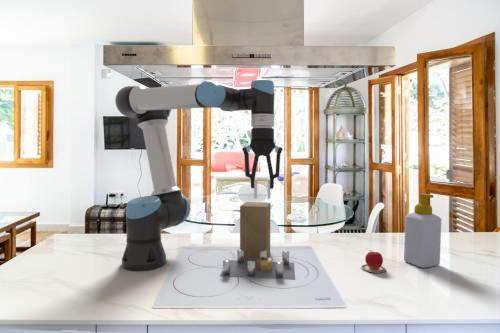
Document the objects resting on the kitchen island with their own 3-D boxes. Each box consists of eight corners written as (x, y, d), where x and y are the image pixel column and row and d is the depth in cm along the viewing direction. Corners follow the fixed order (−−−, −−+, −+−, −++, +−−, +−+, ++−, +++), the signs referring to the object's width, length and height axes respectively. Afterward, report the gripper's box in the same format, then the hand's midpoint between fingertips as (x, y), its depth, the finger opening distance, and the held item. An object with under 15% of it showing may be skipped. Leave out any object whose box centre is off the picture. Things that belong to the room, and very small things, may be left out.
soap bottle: (422, 269, 121) (424, 196, 120) (402, 261, 130) (404, 192, 128) (441, 265, 125) (444, 195, 123) (420, 258, 133) (422, 191, 132)
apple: (356, 267, 124) (356, 248, 123) (374, 264, 127) (375, 246, 126) (371, 275, 116) (372, 255, 116) (391, 272, 119) (391, 252, 119)
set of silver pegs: (222, 275, 114) (222, 261, 114) (229, 260, 128) (229, 248, 128) (289, 278, 112) (289, 264, 112) (289, 263, 126) (289, 250, 126)
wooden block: (266, 261, 130) (266, 206, 128) (239, 259, 132) (239, 205, 130) (270, 252, 139) (270, 202, 138) (245, 251, 141) (245, 201, 140)
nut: (256, 271, 118) (256, 260, 118) (257, 266, 122) (258, 256, 122) (272, 271, 117) (272, 261, 117) (272, 267, 122) (272, 257, 121)
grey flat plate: (219, 277, 113) (219, 276, 113) (227, 261, 129) (227, 260, 129) (295, 280, 111) (295, 279, 111) (294, 263, 127) (294, 262, 127)
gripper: (235, 127, 114) (235, 199, 116) (288, 127, 112) (287, 200, 114) (238, 128, 121) (238, 196, 123) (288, 128, 120) (287, 197, 121)
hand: (262, 198), depth 118 cm, fingers open, 4 cm apart
